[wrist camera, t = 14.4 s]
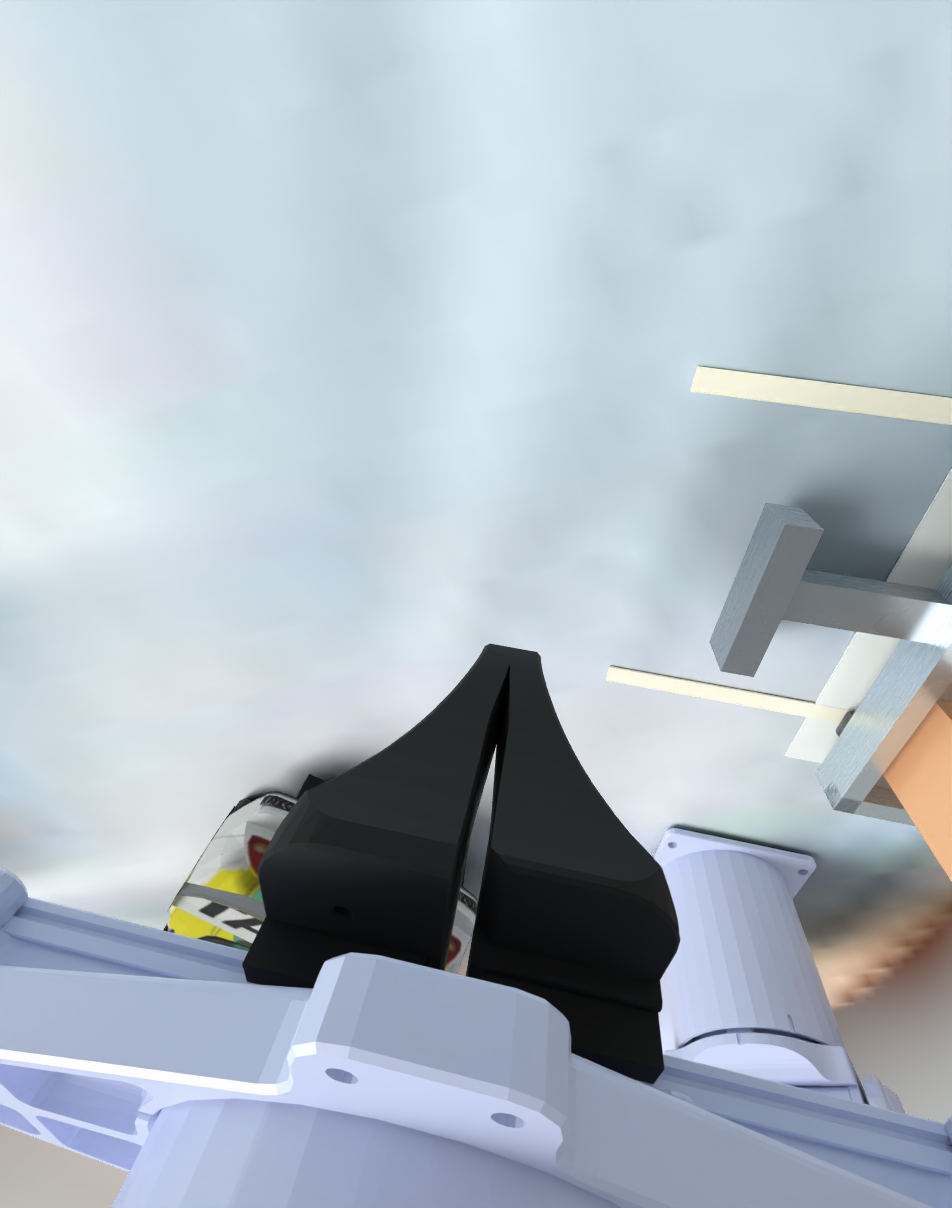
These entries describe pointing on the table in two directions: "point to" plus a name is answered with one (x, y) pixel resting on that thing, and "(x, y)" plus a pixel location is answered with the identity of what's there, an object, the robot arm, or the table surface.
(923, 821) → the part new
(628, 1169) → the robot arm
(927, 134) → the table surface
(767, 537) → the beam with t-bracket
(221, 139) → the table surface
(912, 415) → the track
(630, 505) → the table surface
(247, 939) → the racing car
